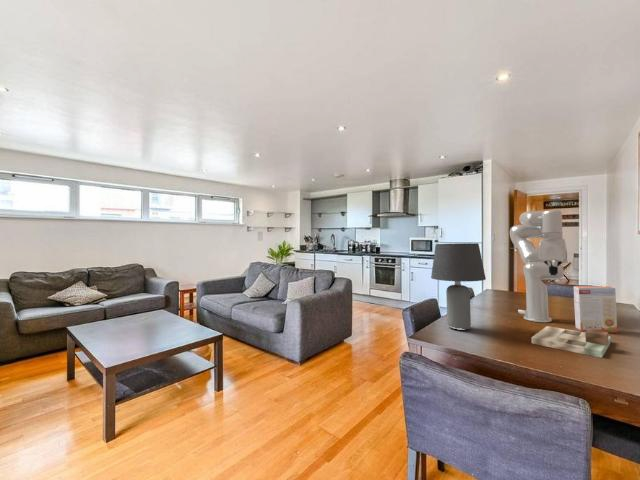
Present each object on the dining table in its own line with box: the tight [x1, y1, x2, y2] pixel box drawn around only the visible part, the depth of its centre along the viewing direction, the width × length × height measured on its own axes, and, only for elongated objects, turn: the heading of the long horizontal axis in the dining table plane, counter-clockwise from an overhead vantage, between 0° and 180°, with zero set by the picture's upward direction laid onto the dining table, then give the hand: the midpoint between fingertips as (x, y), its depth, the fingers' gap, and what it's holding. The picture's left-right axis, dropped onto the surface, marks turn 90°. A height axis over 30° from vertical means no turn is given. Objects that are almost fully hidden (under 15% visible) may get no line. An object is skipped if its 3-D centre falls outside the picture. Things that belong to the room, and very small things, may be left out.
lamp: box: [430, 242, 487, 330], centre depth 151 cm, size 25×25×43 cm
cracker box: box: [573, 285, 618, 334], centre depth 142 cm, size 14×6×21 cm, turn 71°
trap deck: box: [530, 325, 612, 359], centre depth 127 cm, size 22×24×2 cm
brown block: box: [584, 329, 609, 346], centre depth 120 cm, size 6×6×4 cm
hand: (553, 275), depth 141 cm, fingers closed
